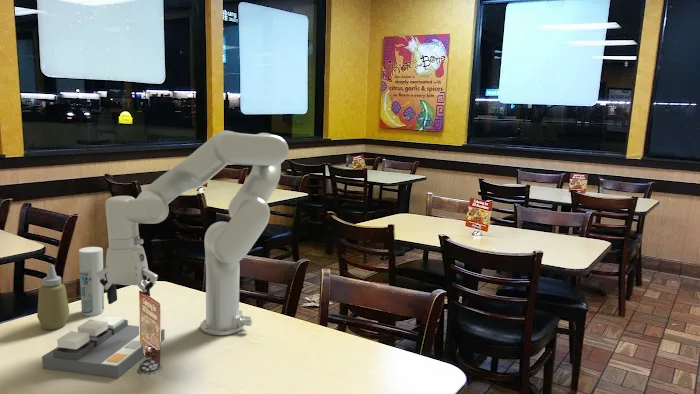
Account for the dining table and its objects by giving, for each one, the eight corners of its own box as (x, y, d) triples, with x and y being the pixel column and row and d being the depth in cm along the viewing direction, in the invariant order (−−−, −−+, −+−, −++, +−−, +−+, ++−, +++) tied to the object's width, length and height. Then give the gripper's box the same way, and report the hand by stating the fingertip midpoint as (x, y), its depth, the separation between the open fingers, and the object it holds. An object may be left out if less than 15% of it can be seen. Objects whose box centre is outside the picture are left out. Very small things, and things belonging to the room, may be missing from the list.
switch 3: (124, 325, 148) (123, 318, 148) (113, 332, 143) (113, 325, 143) (107, 323, 149) (107, 316, 149) (96, 330, 144) (96, 323, 144)
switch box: (164, 339, 148) (164, 323, 147) (118, 378, 127) (117, 360, 126) (98, 331, 151) (98, 316, 150) (42, 368, 130) (41, 350, 129)
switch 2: (107, 328, 140) (107, 321, 140) (95, 336, 136) (95, 329, 135) (90, 326, 141) (90, 319, 141) (77, 334, 136) (77, 327, 136)
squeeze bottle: (56, 333, 148) (53, 271, 145) (31, 330, 150) (27, 268, 147) (76, 322, 156) (73, 263, 153) (52, 319, 158) (49, 260, 155)
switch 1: (89, 340, 133) (89, 333, 133) (76, 349, 128) (76, 341, 128) (71, 338, 134) (71, 331, 134) (57, 347, 129) (57, 339, 129)
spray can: (77, 312, 163) (74, 249, 160) (97, 306, 169) (95, 245, 165) (87, 318, 160) (85, 253, 156) (108, 312, 165) (106, 249, 161)
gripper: (161, 240, 144) (165, 300, 147) (103, 237, 146) (108, 296, 150) (147, 248, 136) (151, 311, 140) (85, 245, 139) (91, 306, 142)
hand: (129, 303), depth 145 cm, fingers open, 9 cm apart
